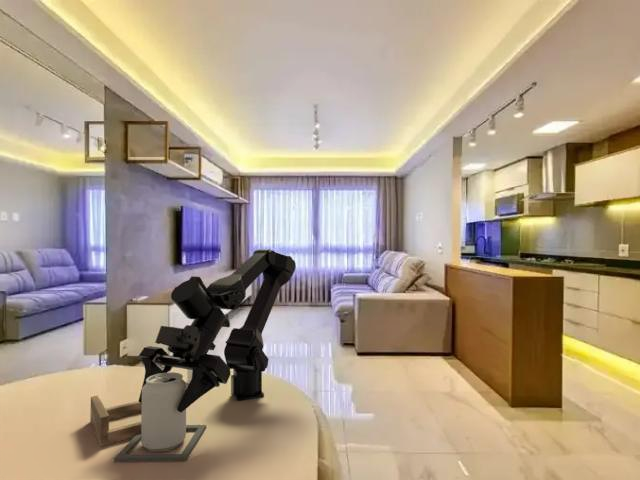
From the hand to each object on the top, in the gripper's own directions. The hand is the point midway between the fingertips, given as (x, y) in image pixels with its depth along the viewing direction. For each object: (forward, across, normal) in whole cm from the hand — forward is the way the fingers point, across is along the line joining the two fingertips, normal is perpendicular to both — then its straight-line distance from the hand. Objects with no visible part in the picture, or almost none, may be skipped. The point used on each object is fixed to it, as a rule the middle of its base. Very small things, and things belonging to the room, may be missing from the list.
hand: (159, 406), depth 69 cm
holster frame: (+4, 0, +6) cm, 7 cm away
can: (+4, 0, +6) cm, 7 cm away
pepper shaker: (-16, -18, +26) cm, 35 cm away
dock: (+2, -12, +8) cm, 15 cm away
